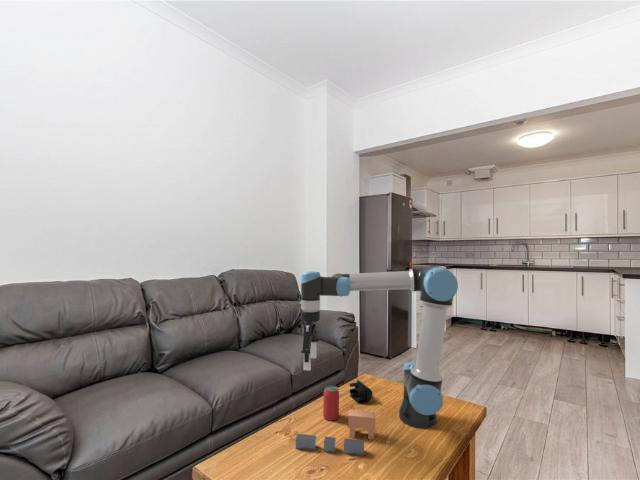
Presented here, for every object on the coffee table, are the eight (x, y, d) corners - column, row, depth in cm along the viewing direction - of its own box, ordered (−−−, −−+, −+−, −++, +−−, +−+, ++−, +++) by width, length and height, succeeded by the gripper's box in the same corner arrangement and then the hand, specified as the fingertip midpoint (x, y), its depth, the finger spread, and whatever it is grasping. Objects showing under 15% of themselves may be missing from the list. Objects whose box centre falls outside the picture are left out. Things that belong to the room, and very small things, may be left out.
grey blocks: (364, 450, 116) (364, 440, 116) (363, 455, 113) (364, 445, 113) (297, 443, 119) (297, 433, 119) (295, 448, 116) (295, 438, 116)
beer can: (337, 422, 134) (338, 392, 134) (321, 420, 135) (322, 390, 135) (339, 414, 140) (340, 385, 141) (324, 412, 142) (325, 384, 142)
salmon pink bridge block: (374, 432, 127) (375, 412, 127) (375, 439, 122) (375, 417, 122) (348, 430, 128) (349, 409, 128) (348, 436, 124) (348, 415, 124)
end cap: (372, 402, 152) (372, 387, 152) (359, 404, 149) (359, 389, 149) (362, 393, 161) (362, 379, 161) (349, 395, 158) (349, 381, 158)
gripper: (307, 304, 144) (306, 353, 144) (294, 316, 119) (294, 375, 119) (324, 304, 143) (323, 353, 142) (314, 317, 118) (314, 376, 118)
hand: (310, 363), depth 131 cm, fingers open, 13 cm apart
